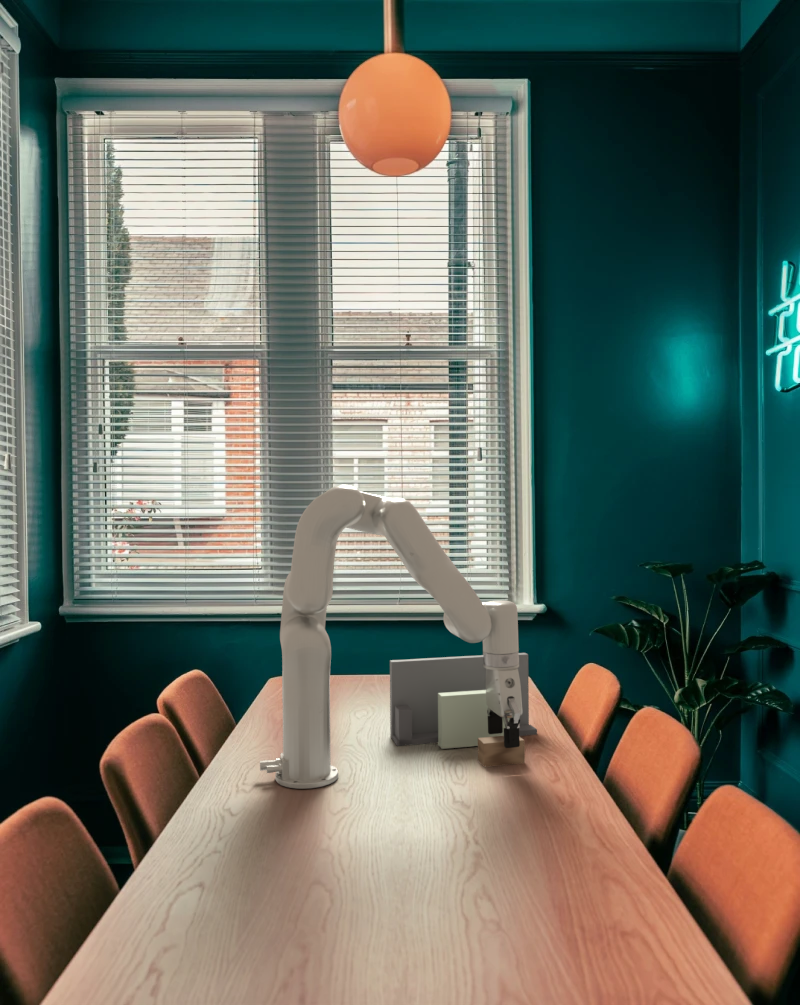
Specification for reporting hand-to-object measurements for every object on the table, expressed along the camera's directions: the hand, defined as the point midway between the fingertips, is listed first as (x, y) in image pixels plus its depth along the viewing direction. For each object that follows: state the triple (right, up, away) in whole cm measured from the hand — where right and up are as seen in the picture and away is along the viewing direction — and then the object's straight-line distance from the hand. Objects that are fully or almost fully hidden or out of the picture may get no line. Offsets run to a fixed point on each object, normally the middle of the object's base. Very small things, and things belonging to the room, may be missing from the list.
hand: (503, 740), depth 163 cm
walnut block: (-1, -5, 0) cm, 5 cm away
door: (-5, -5, +11) cm, 13 cm away
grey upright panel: (-7, -5, +18) cm, 20 cm away
